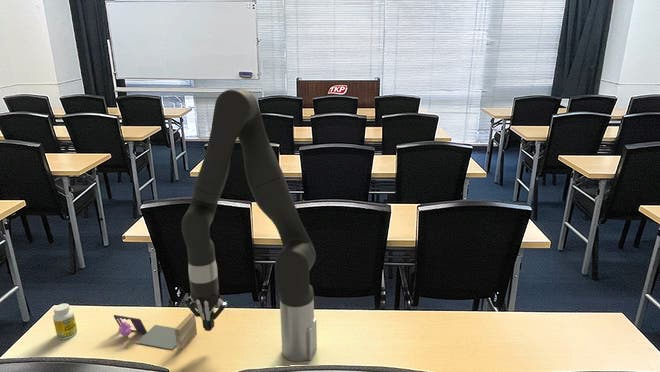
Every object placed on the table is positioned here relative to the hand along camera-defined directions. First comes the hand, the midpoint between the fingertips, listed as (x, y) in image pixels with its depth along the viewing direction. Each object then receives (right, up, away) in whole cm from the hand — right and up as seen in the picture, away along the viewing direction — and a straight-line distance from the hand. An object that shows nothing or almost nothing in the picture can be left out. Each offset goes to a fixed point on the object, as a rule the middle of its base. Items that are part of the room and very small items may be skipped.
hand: (208, 329), depth 129 cm
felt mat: (-15, -4, +5) cm, 16 cm away
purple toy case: (-26, -4, +7) cm, 27 cm away
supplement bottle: (-45, -4, +7) cm, 45 cm away
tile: (-7, -5, +4) cm, 9 cm away
